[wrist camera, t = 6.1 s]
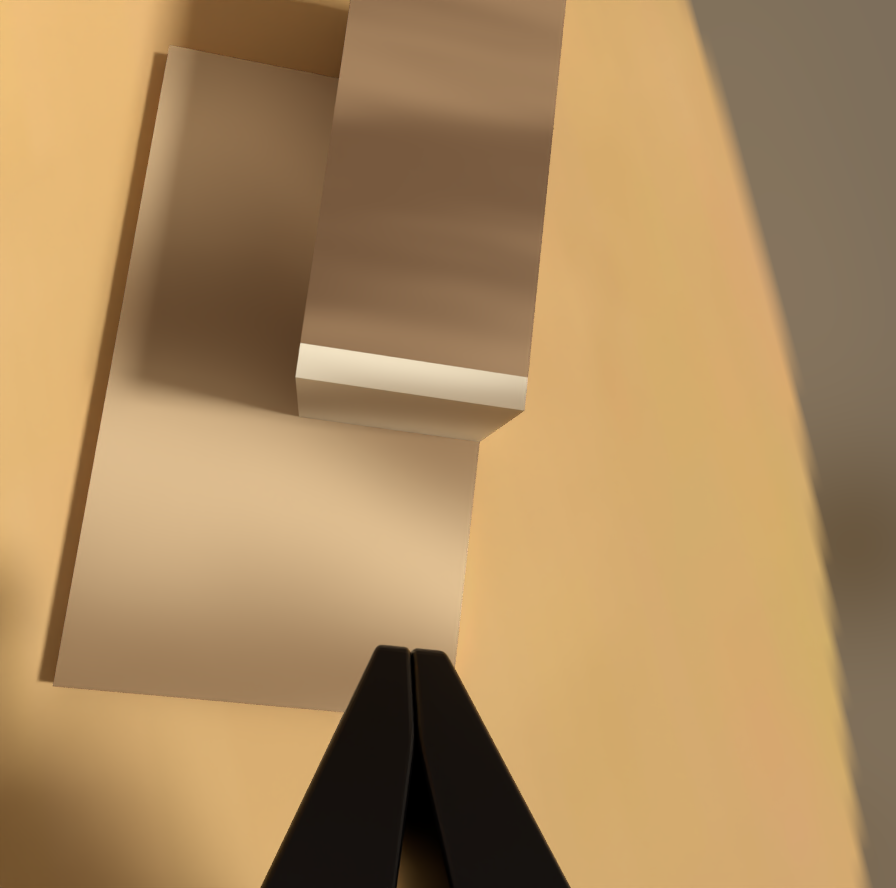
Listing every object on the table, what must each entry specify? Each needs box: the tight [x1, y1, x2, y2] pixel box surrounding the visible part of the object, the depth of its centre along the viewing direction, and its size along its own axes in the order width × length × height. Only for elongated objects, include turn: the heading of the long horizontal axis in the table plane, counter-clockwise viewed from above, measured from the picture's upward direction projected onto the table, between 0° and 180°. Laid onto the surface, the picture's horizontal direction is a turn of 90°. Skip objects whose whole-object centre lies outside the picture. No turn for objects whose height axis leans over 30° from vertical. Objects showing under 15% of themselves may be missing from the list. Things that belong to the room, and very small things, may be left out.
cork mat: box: [53, 45, 480, 712], centre depth 18 cm, size 14×8×1 cm, turn 173°
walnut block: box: [295, 0, 566, 442], centre depth 17 cm, size 4×4×10 cm
